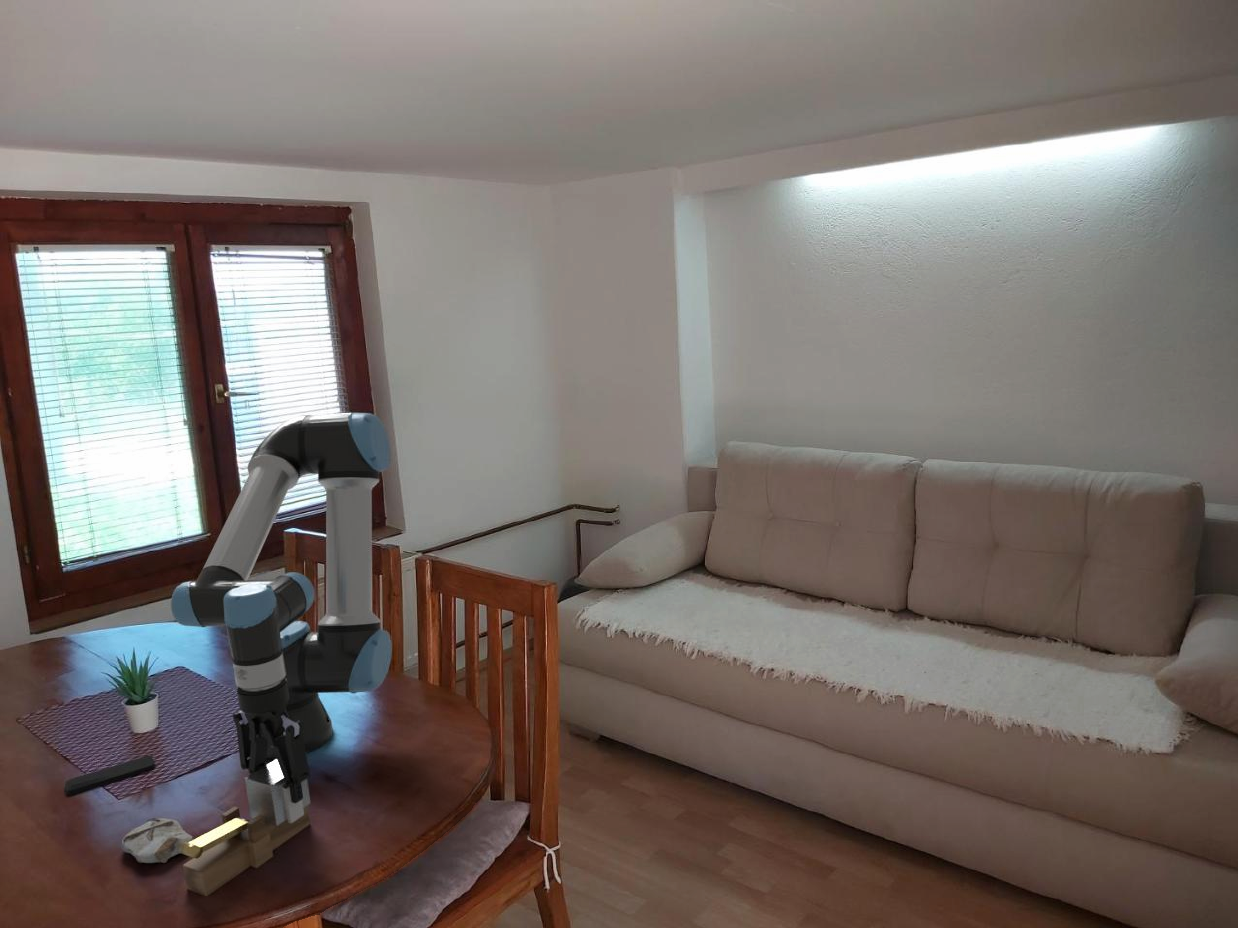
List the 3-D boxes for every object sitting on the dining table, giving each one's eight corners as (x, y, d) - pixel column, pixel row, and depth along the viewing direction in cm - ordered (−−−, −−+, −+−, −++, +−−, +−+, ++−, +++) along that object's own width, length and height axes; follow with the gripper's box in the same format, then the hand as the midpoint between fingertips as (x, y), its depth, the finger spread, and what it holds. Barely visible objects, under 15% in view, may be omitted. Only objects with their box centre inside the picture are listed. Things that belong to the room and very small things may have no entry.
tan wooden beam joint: (181, 886, 139) (173, 843, 138) (285, 816, 156) (280, 777, 155) (212, 898, 135) (205, 855, 134) (316, 825, 153) (310, 786, 151)
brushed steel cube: (250, 817, 149) (244, 777, 148) (285, 795, 155) (279, 757, 154) (276, 825, 146) (270, 785, 145) (310, 802, 152) (304, 764, 151)
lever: (238, 822, 146) (177, 854, 136) (237, 812, 145) (177, 844, 136) (255, 828, 144) (195, 861, 134) (254, 818, 144) (194, 850, 134)
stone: (113, 850, 150) (109, 832, 149) (169, 822, 157) (165, 805, 156) (146, 876, 142) (142, 857, 142) (203, 846, 149) (200, 828, 149)
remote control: (153, 762, 180) (64, 787, 171) (152, 753, 179) (63, 778, 171) (157, 772, 176) (66, 798, 167) (156, 763, 175) (65, 789, 167)
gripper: (201, 682, 147) (223, 812, 152) (284, 701, 138) (305, 840, 143) (240, 664, 154) (260, 789, 158) (322, 681, 145) (340, 814, 149)
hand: (281, 813), depth 151 cm, fingers closed on brushed steel cube, 6 cm apart
